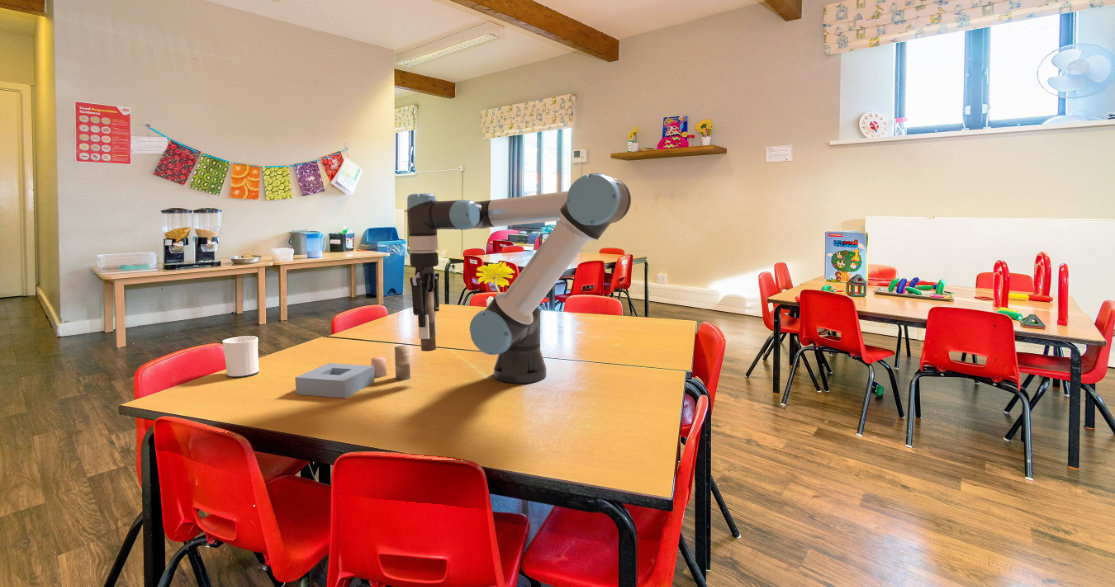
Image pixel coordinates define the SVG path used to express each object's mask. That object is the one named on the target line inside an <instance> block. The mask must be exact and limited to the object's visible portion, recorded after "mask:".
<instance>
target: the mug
mask: <svg viewBox="0 0 1115 587" xmlns="http://www.w3.org/2000/svg"><path fill="white" fill-rule="evenodd" d="M222 346H223V352H224V360H225V368H226V376H227V378H229V377H231V378H230V379H243V377H244V378H249V376H250V377H253V376H255V375H258V374H259V372H260V368H259V367H260V365H259V338H258V337H257V336H253V335H244V336H236V337H235V336H234V337H230V338H225V339H223V340H222Z"/></svg>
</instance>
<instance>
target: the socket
mask: <svg viewBox="0 0 1115 587" xmlns="http://www.w3.org/2000/svg"><path fill="white" fill-rule="evenodd" d="M294 378H295V392H296V395H300V396H301V395H302V396H315V397H328V398H340V399H346V398H348V397H350V396H353V395H354V394H355V393H357V392H358V391H360V390H363V389H364V388H366V387H368V386H370V385H372V384H373V383H375V377H374V366H371V365H364V364H348V363H346V364H345V363H333V362H331V363H330V362H328V363H325V364H323V365H322V366H319V367H317V368H313V369H311V370H309V371H307V372H305V373H303V374H300V375H298V376H295V377H294Z"/></svg>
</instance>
